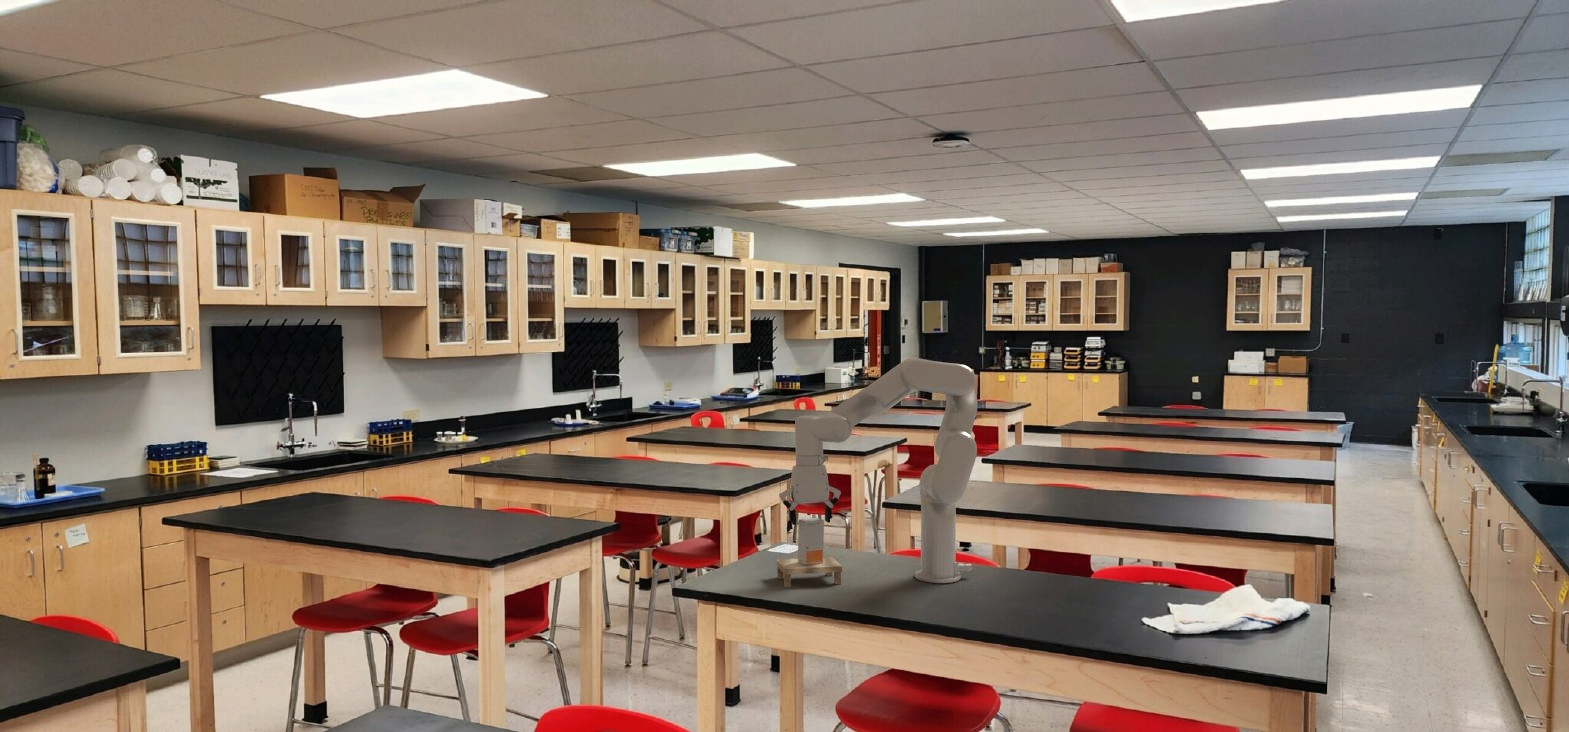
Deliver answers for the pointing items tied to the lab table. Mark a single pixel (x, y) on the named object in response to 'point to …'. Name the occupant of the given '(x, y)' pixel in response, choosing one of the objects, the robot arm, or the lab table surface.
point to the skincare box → (810, 541)
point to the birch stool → (807, 569)
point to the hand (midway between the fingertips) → (810, 522)
